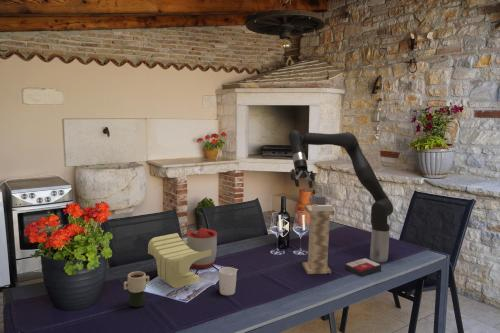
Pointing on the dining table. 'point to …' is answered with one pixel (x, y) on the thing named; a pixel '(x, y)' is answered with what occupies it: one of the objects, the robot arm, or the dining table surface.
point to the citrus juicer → (203, 246)
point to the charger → (317, 199)
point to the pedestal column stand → (318, 241)
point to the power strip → (322, 207)
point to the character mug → (136, 288)
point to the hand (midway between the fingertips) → (304, 187)
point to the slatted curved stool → (175, 259)
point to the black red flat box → (363, 267)
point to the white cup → (227, 280)
